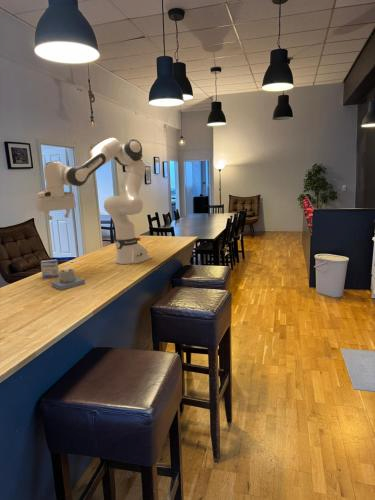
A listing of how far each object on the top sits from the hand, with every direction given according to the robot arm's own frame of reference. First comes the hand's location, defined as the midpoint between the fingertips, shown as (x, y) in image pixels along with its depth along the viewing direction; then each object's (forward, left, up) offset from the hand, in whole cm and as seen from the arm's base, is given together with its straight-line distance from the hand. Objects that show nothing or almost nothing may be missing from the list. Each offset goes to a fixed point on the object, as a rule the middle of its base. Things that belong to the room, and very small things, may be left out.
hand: (58, 218), depth 187 cm
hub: (+12, +26, -27) cm, 39 cm away
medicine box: (+10, +4, -29) cm, 31 cm away
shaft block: (+12, +26, -29) cm, 41 cm away
